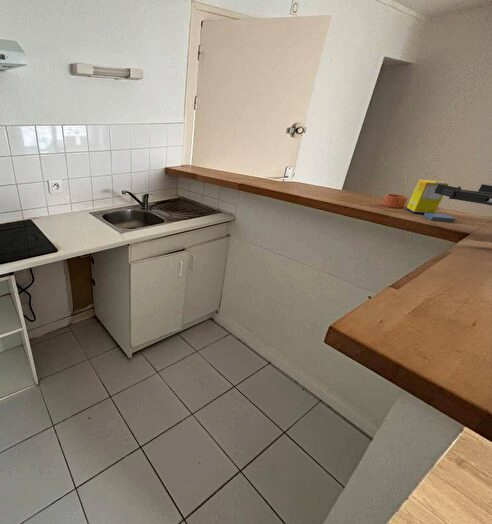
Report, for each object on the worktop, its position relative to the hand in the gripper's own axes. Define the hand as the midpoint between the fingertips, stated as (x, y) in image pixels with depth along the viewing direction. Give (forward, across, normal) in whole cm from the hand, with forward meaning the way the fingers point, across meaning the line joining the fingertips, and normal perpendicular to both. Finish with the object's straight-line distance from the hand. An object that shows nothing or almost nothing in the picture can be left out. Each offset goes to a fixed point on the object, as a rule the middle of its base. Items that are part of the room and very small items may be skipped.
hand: (458, 188), depth 88 cm
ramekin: (+17, -3, -10) cm, 20 cm away
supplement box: (+9, 0, -10) cm, 14 cm away
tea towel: (+1, -1, -10) cm, 10 cm away
